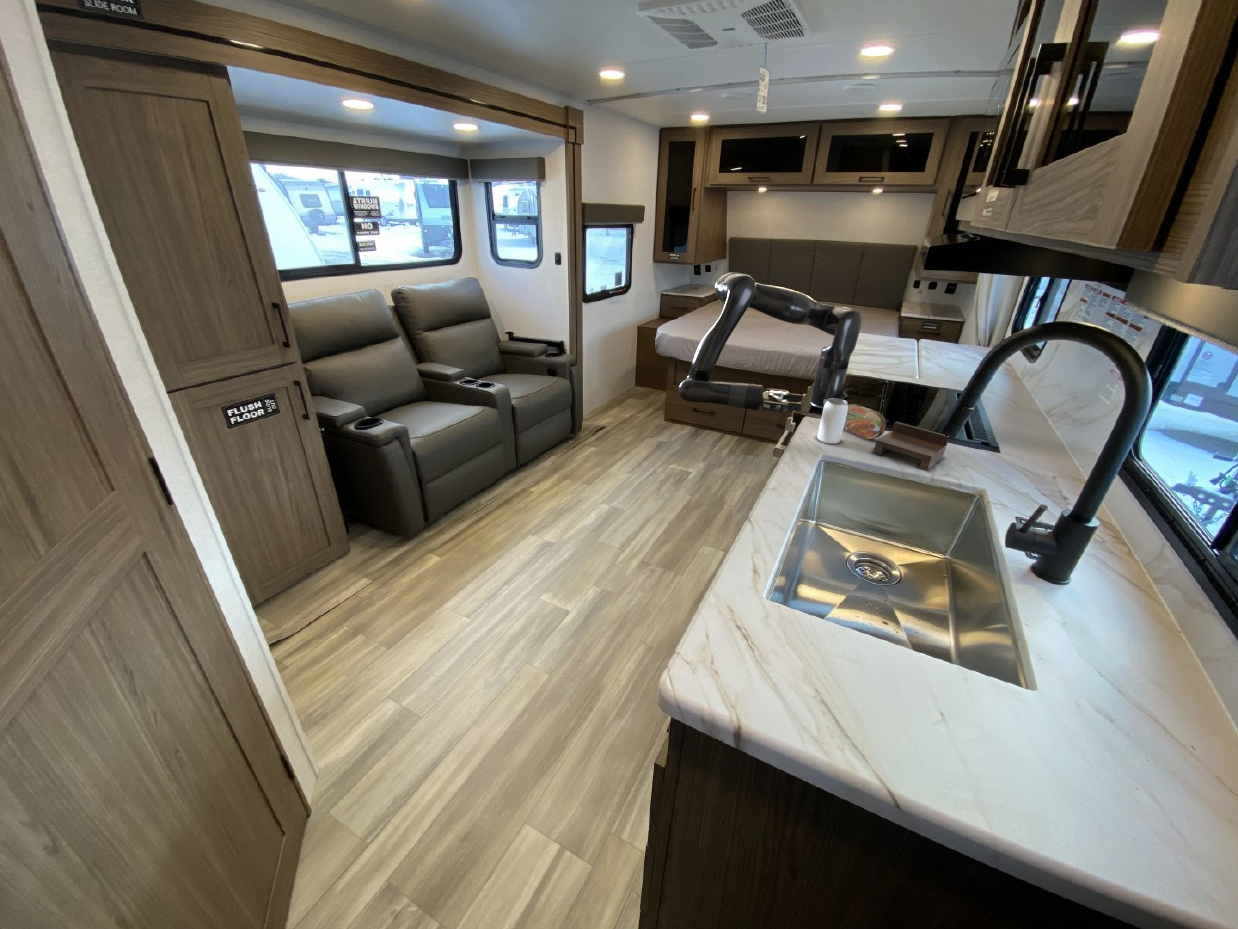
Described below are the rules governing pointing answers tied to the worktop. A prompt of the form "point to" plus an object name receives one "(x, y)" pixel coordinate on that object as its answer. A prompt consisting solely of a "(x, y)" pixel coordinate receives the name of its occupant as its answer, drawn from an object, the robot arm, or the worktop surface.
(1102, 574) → the worktop surface
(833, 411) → the can
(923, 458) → the bench
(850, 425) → the tin
